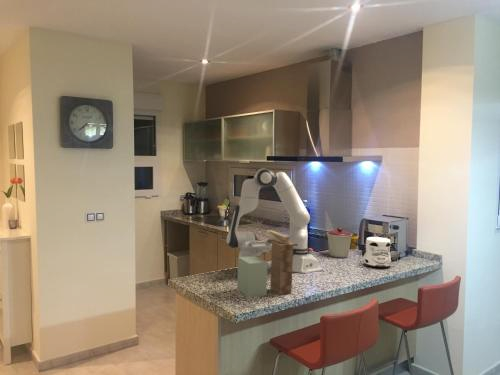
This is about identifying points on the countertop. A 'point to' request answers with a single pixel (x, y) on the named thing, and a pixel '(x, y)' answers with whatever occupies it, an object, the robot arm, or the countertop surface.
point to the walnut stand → (281, 267)
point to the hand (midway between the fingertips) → (263, 241)
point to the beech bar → (278, 237)
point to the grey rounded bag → (394, 255)
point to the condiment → (354, 241)
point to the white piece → (377, 252)
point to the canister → (339, 243)
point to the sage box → (252, 276)
